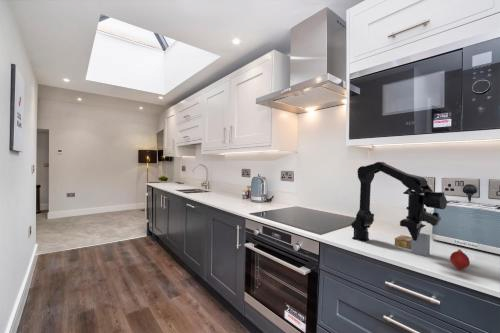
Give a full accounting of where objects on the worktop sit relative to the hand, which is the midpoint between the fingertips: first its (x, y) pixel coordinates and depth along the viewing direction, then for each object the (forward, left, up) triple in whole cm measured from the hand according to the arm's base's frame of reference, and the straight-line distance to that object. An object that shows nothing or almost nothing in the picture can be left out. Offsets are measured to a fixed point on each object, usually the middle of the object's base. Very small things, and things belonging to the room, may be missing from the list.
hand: (415, 240), depth 105 cm
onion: (+15, 0, -8) cm, 17 cm away
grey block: (0, +7, -7) cm, 10 cm away
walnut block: (-9, +9, -6) cm, 14 cm away
